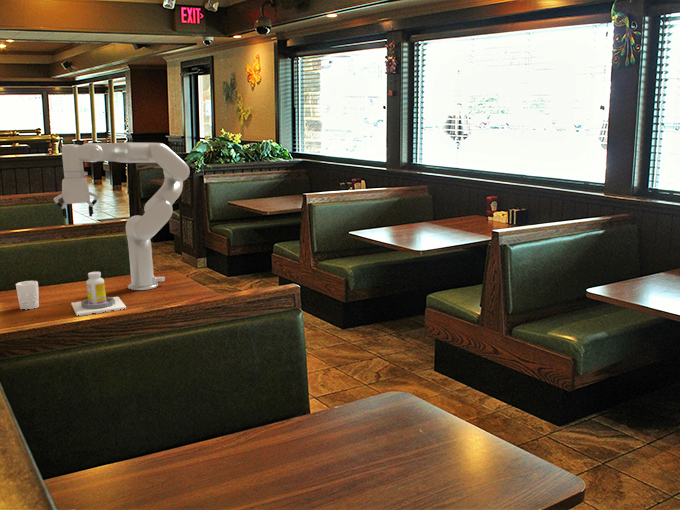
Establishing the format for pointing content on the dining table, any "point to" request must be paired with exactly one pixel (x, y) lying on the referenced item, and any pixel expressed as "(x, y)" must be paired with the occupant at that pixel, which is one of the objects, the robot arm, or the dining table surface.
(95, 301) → the supplement bottle
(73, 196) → the robot arm
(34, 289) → the white cup
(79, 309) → the mount board
